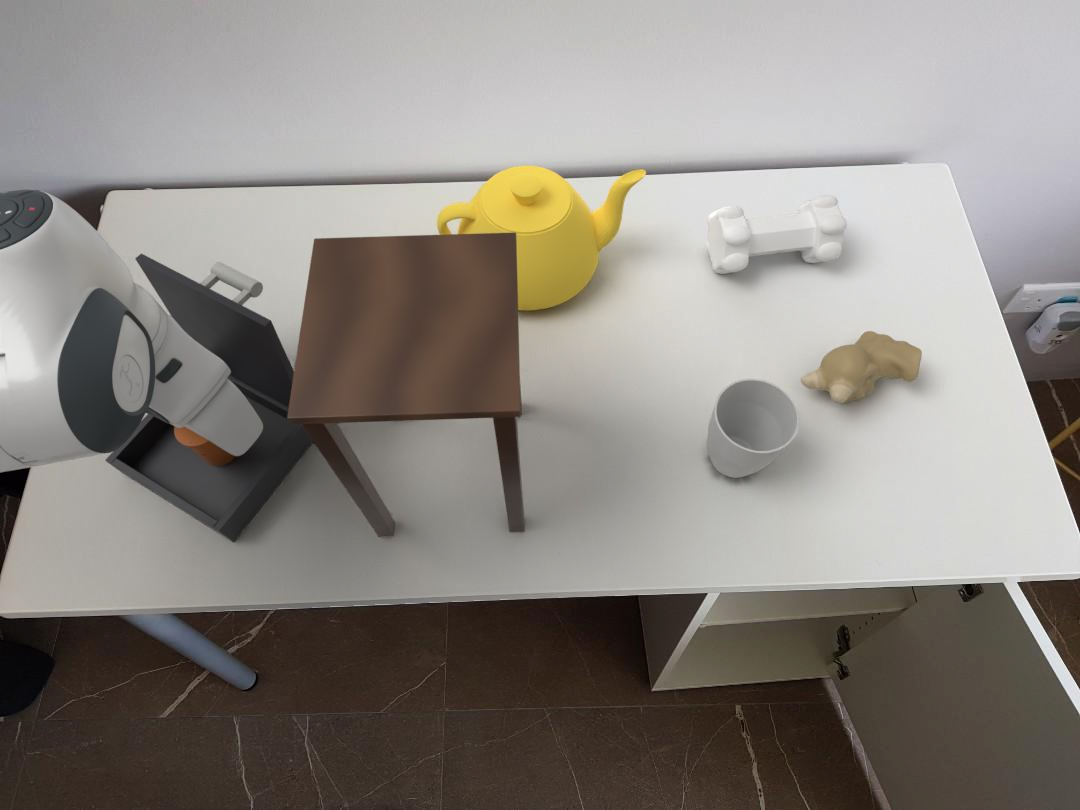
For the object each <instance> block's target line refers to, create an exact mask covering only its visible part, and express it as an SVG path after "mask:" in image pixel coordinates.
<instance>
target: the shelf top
mask: <svg viewBox="0 0 1080 810" xmlns="http://www.w3.org/2000/svg"><path fill="white" fill-rule="evenodd" d="M304 297H305V298H304V303H303V309H302V317H301V323H300V329H299V337H298V342H297V343H298V344H297V349H296V357H295V362H294V368H293V370H294V375H293V382H292V389H291V395H290V402H289V408H288V415H287V419H288V420H289V422H290V423H291V424H322V423H337V424H346V423H347V424H348V423H349V424H351V423H380V422H404V421H405V422H409V421H411V422H412V421H437V420H438V421H439V420H469V419H471V420H472V419H493V418H503V417H517V418H520V417H521V416H522V415H521V405H520V384H521V371H520V369H521V368H520V367H521V366H520V325H519V322H520V321H519V310H518V278H517V238H516V233H515V232H512V233H479V234H458V233H451V234H446V235H440V234H419V235H418V234H417V235H416V234H415V235H385V236H383V235H382V236H356V237H355V236H352V237H349V236H348V237H320V238H319V237H318V238H316V237H315V238H314V239H313V245H312V252H311V258H310V264H309V269H308V277H307V283H306V290H305V296H304Z"/></svg>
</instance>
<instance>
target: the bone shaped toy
mask: <svg viewBox="0 0 1080 810" xmlns="http://www.w3.org/2000/svg"><path fill="white" fill-rule="evenodd" d="M838 203H839V200H838V198H837V197H836V196H834V195H831V194H824V195H818V196H816V197H813V198H812V199H808V200H805V201H803V202H802V203H801V204H800V205H799V206H798V208H797V213H789V214H780V215H773V216H762V217H753V218H746V216H745V212H744V209H743V207H740V206H739V205H727V206H723V207H721V208H719V209H717V210H715V211H713V212H711V213H710V214H709V215H708V217H707V219H706V220H707V221H706V222H707V241H706V243H705V249H706V251H707V252H708V255H709V259H710V261H711V264H712V266H711V268H712V270H713V272H714V273H716V274H724V275H725V274H731V273H737V272H741V271H743V270H745V268H747V266H748V264H749V261H750V260H749V259H750V258H749V257H757V256H767V255H775V254H785V253H791V252H800V254H801V258H802V260H803V261H804V262H805V263H808V264H817V263H822V262H830V261H833V260H836V259H838V258H839V257H840V256H841V255H842V252H843V240H844V233H845V230H846V228H847V225H848V222H847V219H846V218H845V217H844V215H843V214H842V211H841V209H840V207H839V204H838Z"/></svg>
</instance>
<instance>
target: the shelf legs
mask: <svg viewBox="0 0 1080 810" xmlns="http://www.w3.org/2000/svg"><path fill="white" fill-rule="evenodd" d="M521 388H522V385H521V383H520V405H521V416H523V405H522V404H523V402H522V389H521ZM517 418H518V417H503V418H492V420H493V427H494V436H495V443H496V448H497V449H496V450H497V454H498V463H499V468H500V469H499V470H500V476H501V483H502V489H503V498H504V501H505V502H504V503H505V510H506V517H507V524H508V530H509V531H508V532H509V533H522V532H523V533H524V532H525V531H526V527H525V525H526V524H525V523H526V521H525V520H526V519H525V506H524V495H523V483H522V481H523V479H522V470H521V469H522V468H521V456H520V455H521V454H520V445H519V444H520V443H519V432H518V431H519V430H518V419H517ZM301 425H302V426H303V428H304V429H305V431H306V432H307V433H308V435H309V436H310V438H311V439H312V441H313V444H314V445H315V446H316V448H317V450H318V451H319V452H320V454H321V455H322V457H323V458H324V460H325V461H326V463H327V465H328V466H329V467H330V468H331V470H332V471H333V473H334V474H335V476H336V477H337V479H338V480H339V481H340V484H342V486H343V487H344V489H345V491H347V494H349V496H350V497H351V498H352V500H353V502H354V503H355V504H356V506H357V508H358V509H359V510H360V512H361V514H362V515H363V517H364V518H365V519H366V521H367V522H368V524H369V525H370V526H371V528H372V529H373V531H374V532H375V534H376V535H377V537H379V538H381V537H383V538H385V537H394V536H395V525H396V524H395V523H396V521H395V520H394V518H393V516H392V514H391V513H390V511H389V509H388V508H387V506H386V504H385V502H384V501H383V499H382V497H381V495H380V494H379V492H378V490H377V489H376V487H375V486H374V484H373V482H372V480H371V479H370V477H369V475H368V474H367V471H366V470H365V468H364V467H363V465H362V463H361V462H360V459H359V458H358V456H357V454H356V453H355V451H354V450H353V448H352V445H350V443H349V441H348V440H347V437H346V436H345V434H344V432H343V431H342V429H341V427H340V426H339V423H322V424H301Z"/></svg>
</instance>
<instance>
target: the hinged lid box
mask: <svg viewBox="0 0 1080 810" xmlns="http://www.w3.org/2000/svg"><path fill="white" fill-rule="evenodd" d="M228 379H229V380H230V381H231V382H232V383H233V384H234V385H235V386H236V387H237V388H238V389H239V390H240V391H241V392H242V393H243V395H244V396H245V397H246V399H247V400H248V401H249V403H250V404H251V406H252V407H253V409H254V410H255V412H256V413H257V415H258V416H259V418H260V419H261V421H262V423H263V430H262V432H261V434H260V436H259V437H258V438H257V440H256V441H255V442H254V443H253V445H252V446H251V447H250V448H249V449H248V450H247V451H246V452H245V453H244V454H242V455H240V456H236V457H235V458H234V459H233V460H232V461H231V462H230V463H228V464H226V465H223V466H211V465H209V464H207V463H206V462H205V461H204V460H203V459H202V458H201V457H200V456H198V455H197V454H196V453H195V452H194V451H193V450H192V449H191V448H190V447H187V446H184V445H182V444H181V443H180V442H179V441H178V440H177V439H176V437H175V434H174V427H175V426H173V425H172V424H170V423H166V422H164V421H162V420H160V419H158V418H156V417H154V416H152V415H150V414H147V413H146V416H144V417H143V419H142V421H141V422H140V424H139V426H138V427H137V429H136V430H135V432H134V433H133V434H132V435H131V437H130V438H129V439H128V440H127V441H126V442H125V443H124V444H123V445H122V446H121V447H120V448H118V449H117V450H115V451H113V452H110V453H109V455H108V457H106V459H104V460H105V461H104V462H106V463H107V464H109V465H110V466H112V467H113V468H114V469H116V470H117V471H119V472H120V473H121V474H122V475H124V476H125V477H127V478H129V479H131V480H132V481H134V482H135V483H137V484H138V485H140V486H142V487H143V488H145V489H146V490H148V491H149V492H152V493H153V494H155V495H156V496H158V497H160V498H161V499H163V500H165V501H166V502H168V503H170V504H171V505H173V506H174V507H176V508H177V509H178V510H181V511H182V512H183V513H186V514H187V515H189V516H190V517H192V518H194V519H195V520H197V521H198V522H200V523H202V524H203V525H205V526H206V527H208V528H209V529H211V530H213V531H214V532H216V533H218V534H220V535H221V536H222V537H224V538H225V539H227V540H229V541H231V542H232V543H235V542H236V541H237V539H238V538H239V537H240V536H241V534H242V533H243V532H244V531H245V529H246V528H247V527H248V525H249V524H250V523H251V521H253V519H254V518H255V517H256V515H257V514H258V513H259V512H260V510H261V509H262V508H263V507H264V506H265V504H266V502H267V501H268V500H269V499H270V498H271V496H272V495H273V494H274V492H275V491H276V490H277V489H278V487H279V486H280V485H281V483H283V482H284V480H285V478H286V477H287V476H288V475H289V474H290V472H291V471H292V470H293V468H294V467H295V466H296V464H298V462H299V460H300V459H301V458H302V457H303V455H305V453H306V451H308V449H309V448H310V447H311V445H312V444H314V442H313V441H312V439H311V438H310V436H309V435H308V433H307V432H306V431H305V429H304V428H303V426H302V425H301V424H291V423H290V422H289V420H288V419H287V415H288V408H289V407H288V406H286V405H285V404H283V403H281V402H279V401H277V400H276V399H274V398H272V397H270V396H268V395H266V394H265V393H263V392H261V391H259V390H257V389H256V388H254V387H252V386H250V385H248V384H246V383H245V382H243V381H241V380H239V379H237V378H235V377H234V376H232V375H229V376H228Z"/></svg>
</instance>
